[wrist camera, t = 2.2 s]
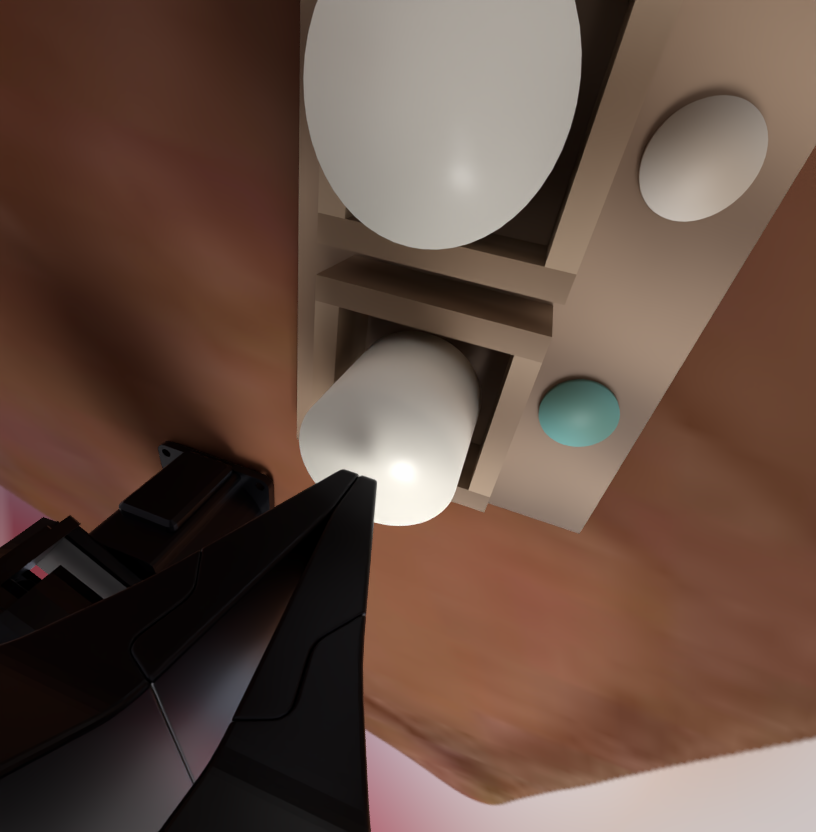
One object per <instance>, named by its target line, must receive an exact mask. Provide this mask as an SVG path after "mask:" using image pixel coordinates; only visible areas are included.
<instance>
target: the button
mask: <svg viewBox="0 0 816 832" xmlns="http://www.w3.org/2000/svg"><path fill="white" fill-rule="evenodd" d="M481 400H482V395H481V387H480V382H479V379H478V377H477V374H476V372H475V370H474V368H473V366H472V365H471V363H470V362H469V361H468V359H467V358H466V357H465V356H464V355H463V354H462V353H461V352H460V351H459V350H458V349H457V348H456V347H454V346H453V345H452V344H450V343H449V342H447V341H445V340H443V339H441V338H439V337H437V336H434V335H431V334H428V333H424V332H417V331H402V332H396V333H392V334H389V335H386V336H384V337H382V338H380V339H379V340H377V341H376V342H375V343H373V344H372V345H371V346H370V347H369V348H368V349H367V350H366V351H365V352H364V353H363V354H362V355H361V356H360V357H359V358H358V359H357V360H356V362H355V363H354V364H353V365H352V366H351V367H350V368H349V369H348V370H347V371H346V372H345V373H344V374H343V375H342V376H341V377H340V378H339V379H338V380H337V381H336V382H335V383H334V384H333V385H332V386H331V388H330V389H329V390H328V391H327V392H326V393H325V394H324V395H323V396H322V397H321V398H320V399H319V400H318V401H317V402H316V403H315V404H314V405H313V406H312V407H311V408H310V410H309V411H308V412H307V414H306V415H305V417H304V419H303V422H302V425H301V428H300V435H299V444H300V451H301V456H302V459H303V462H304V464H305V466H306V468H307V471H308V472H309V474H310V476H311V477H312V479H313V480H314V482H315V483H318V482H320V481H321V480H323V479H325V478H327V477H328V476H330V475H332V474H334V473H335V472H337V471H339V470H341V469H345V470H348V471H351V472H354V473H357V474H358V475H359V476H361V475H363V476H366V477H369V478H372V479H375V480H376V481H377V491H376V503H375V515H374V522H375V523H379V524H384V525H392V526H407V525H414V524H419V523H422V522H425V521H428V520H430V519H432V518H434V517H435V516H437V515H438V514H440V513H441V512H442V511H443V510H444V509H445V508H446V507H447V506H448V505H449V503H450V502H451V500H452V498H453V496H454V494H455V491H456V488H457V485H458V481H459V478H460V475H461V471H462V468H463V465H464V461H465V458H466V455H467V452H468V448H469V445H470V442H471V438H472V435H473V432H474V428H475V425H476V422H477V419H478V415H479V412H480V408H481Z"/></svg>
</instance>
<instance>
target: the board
mask: <svg viewBox="0 0 816 832" xmlns="http://www.w3.org/2000/svg"><path fill="white" fill-rule="evenodd" d="M317 1H318V0H300V111H299V238H298V366H297V439H298V440H299V435H300V428H301V425H302V422H303V419H304V417H305V415H306V414H307V412H308V411H309V410H310V408H311V407H312V406H313V405H314V404H315V403H316V402H317V401H318V400H319V399H320V398H321V397H322V396H323V395H324V394H325V393H326V392H327V391H328V390H329V389H330V388H331V386H332V385H333V384H334V383H335V382H336V381H337V380H338V379H339V378H340V377H341V376H342V375H343V374H344V373H345V372H346V371H347V370H348V369H349V368H350V367H351V366H352V365H353V364H354V363H355V362H356V360H357V359H358V358H359V357H360V356H361V355H362V354H363V353H364V352H365V351H366V350H367V349H368V348H369V347H370V346H371V345H372V344H373V343H375V342H376V341H377V340H379V339H380V338H382V337H384V336H386V335H389V334H392V333H396V332H402V331H417V332H424V333H428V334H431V335H434V336H437V337H439V338H441V339H443V340H445V341H447V342H449V343H450V344H452V345H453V346H454V347H456V348H457V349H458V350H459V351H460V352H461V353H462V354H463V355H464V356H465V357H466V358H467V359H468V361H469V362H470V363H471V365H472V366H473V368H474V370H475V372H476V374H477V377H478V379H479V382H480V387H481V395H482V400H481V408H480V412H479V415H478V419H477V422H476V425H475V428H474V432H473V435H472V438H471V442H470V445H469V448H468V452H467V455H466V458H465V461H464V465H463V468H462V471H461V475H460V478H459V481H458V485H457V488H456V491H455V494H454V496H453V498H452V500H451V501H452V502H455V503H458V504H461V505H464V506H467V507H470V508H473V509H476V510H479V511H482V512H484V511H485V509H486V506H487V504H488V503H489V504H492V505H495V506H498V507H501V508H504V509H507V510H510V511H513V512H516V513H519V514H522V515H525V516H528V517H531V518H534V519H537V520H540V521H543V522H546V523H549V524H552V525H555V526H558V527H561V528H564V529H567V530H570V531H573V532H576V533H580V532H581V530H582V529H583V527H584V525H585V524H586V522H587V520H588V519H589V517H590V515H591V514H592V512H593V510H594V509H595V507H596V506H597V504H598V502H599V501H600V499H601V497H602V496H603V494H604V492H605V491H606V489H607V487H608V486H609V484H610V482H611V481H612V479H613V478H614V476H615V474H616V473H617V471H618V469H619V468H620V466H621V464H622V463H623V461H624V459H625V458H626V456H627V454H628V453H629V451H630V450H631V448H632V446H633V445H634V443H635V441H636V440H637V438H638V436H639V435H640V433H641V431H642V430H643V428H644V427H645V425H646V423H647V422H648V420H649V418H650V417H651V415H652V413H653V412H654V410H655V408H656V407H657V405H658V403H659V402H660V400H661V399H662V397H663V395H664V394H665V392H666V390H667V389H668V387H669V385H670V384H671V382H672V380H673V379H674V377H675V376H676V374H677V372H678V371H679V369H680V367H681V366H682V364H683V362H684V361H685V359H686V357H687V356H688V354H689V352H690V351H691V349H692V348H693V346H694V344H695V343H696V341H697V339H698V338H699V336H700V334H701V333H702V331H703V329H704V328H705V326H706V325H707V323H708V321H709V320H710V318H711V316H712V315H713V313H714V311H715V310H716V308H717V306H718V305H719V303H720V301H721V300H722V298H723V297H724V295H725V293H726V292H727V290H728V288H729V287H730V285H731V283H732V282H733V280H734V278H735V277H736V275H737V273H738V272H739V270H740V269H741V267H742V265H743V264H744V262H745V260H746V259H747V257H748V255H749V254H750V252H751V250H752V249H753V247H754V246H755V244H756V242H757V241H758V239H759V237H760V236H761V234H762V232H763V231H764V229H765V227H766V226H767V224H768V222H769V221H770V219H771V218H772V216H773V214H774V213H775V211H776V209H777V208H778V206H779V204H780V203H781V201H782V199H783V198H784V196H785V195H786V193H787V191H788V190H789V188H790V186H791V185H792V183H793V181H794V180H795V178H796V176H797V175H798V173H799V171H800V170H801V168H802V167H803V165H804V163H805V162H806V160H807V158H808V157H809V155H810V153H811V152H812V150H813V148H814V147H815V145H816V0H575V4H576V9H577V14H578V19H579V25H580V36H581V50H582V56H581V79H580V86H579V93H578V99H577V105H576V109H575V113H574V117H573V120H572V124H571V128H570V131H569V133H568V136H567V139H566V141H565V144H564V147H563V149H562V151H561V153H560V155H559V157H558V159H557V161H556V163H555V165H554V167H553V169H552V171H551V173H550V174H549V176H548V177H547V179H546V180H545V182H544V183H543V185H542V187H541V188H540V189H539V191H538V192H537V193H536V194H535V196H534V197H533V198H532V199H531V200H530V202H529V203H528V204H527V205H526V206H525V207H524V208H523V209H522V210H521V211H520V212H519V213H518V214H517V215H516V216H515V217H514V218H512V219H511V220H510V221H508V222H507V223H506V224H505V225H503V226H502V227H501V228H499V229H498V230H496V231H494V232H492V233H491V234H489V235H487V236H485V237H484V238H481V239H479V240H476V241H474V242H472V243H469V244H466V245H462V246H458V247H454V248H447V249H438V250H436V249H419V248H413V247H408V246H404V245H401V244H398V243H395V242H393V241H391V240H388V239H386V238H384V237H382V236H380V235H379V234H377V233H376V232H374V231H372V230H371V229H369V228H368V227H367V226H365V225H364V224H363V223H362V222H361V221H360V220H358V219H357V218H356V217H355V216H354V215H353V214H352V213H351V212H350V211H349V210H348V208H347V207H346V206H345V205H344V204H343V203H342V201H341V200H340V199H339V197H338V196H337V194H336V193H335V192H334V190H333V188H332V187H331V185H330V183H329V182H328V180H327V178H326V176H325V174H324V172H323V170H322V168H321V165H320V163H319V161H318V159H317V156H316V153H315V150H314V147H313V144H312V141H311V136H310V132H309V128H308V123H307V118H306V110H305V102H304V81H303V76H304V59H305V50H306V44H307V37H308V32H309V28H310V24H311V20H312V16H313V12H314V9H315V6H316V3H317Z"/></svg>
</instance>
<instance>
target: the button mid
mask: <svg viewBox="0 0 816 832" xmlns="http://www.w3.org/2000/svg"><path fill="white" fill-rule="evenodd" d="M581 56H582V50H581V36H580V25H579V19H578V14H577V9H576V4H575V0H318V1H317V3H316V6H315V9H314V12H313V16H312V20H311V24H310V28H309V32H308V37H307V44H306V50H305V59H304V76H303V81H304V102H305V110H306V118H307V123H308V128H309V132H310V136H311V141H312V144H313V147H314V150H315V153H316V156H317V159H318V161H319V163H320V165H321V168H322V170H323V172H324V174H325V176H326V178H327V180H328V182H329V183H330V185H331V187H332V188H333V190H334V192H335V193H336V194H337V196H338V197H339V199H340V200H341V201H342V203H343V204H344V205H345V206H346V207H347V208H348V210H349V211H350V212H351V213H352V214H353V215H354V216H355V217H356V218H357V219H358V220H360V221H361V222H362V223H363V224H364V225H365V226H367V227H368V228H369V229H371V230H372V231H374V232H376V233H377V234H379V235H380V236H382V237H384V238H386V239H388V240H391V241H393V242H395V243H398V244H401V245H404V246H408V247H413V248H419V249H436V250H438V249H447V248H454V247H458V246H462V245H466V244H469V243H472V242H474V241H476V240H479V239H481V238H484V237H485V236H487V235H489V234H491V233H492V232H494V231H496V230H498V229H499V228H501V227H502V226H503V225H505V224H506V223H507V222H508V221H510V220H511V219H512V218H514V217H515V216H516V215H517V214H518V213H519V212H520V211H521V210H522V209H523V208H524V207H525V206H526V205H527V204H528V203H529V202H530V200H531V199H532V198H533V197H534V196H535V194H536V193H537V192H538V191H539V189H540V188H541V187H542V185H543V183H544V182H545V180H546V179H547V177H548V176H549V174H550V173H551V171H552V169H553V167H554V165H555V163H556V161H557V159H558V157H559V155H560V153H561V151H562V149H563V147H564V144H565V141H566V139H567V136H568V133H569V131H570V128H571V124H572V120H573V117H574V113H575V109H576V105H577V99H578V93H579V86H580V79H581Z"/></svg>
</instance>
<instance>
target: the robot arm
mask: <svg viewBox="0 0 816 832" xmlns="http://www.w3.org/2000/svg"><path fill="white" fill-rule="evenodd" d="M158 451H159V455H160V460H161V464H162V468H163V469H162V470H161V471H159V472H158V473H157V474H156V475H154V476H153V477H152V478H151V479H149V480H148V481H147V482H146V483H144V484H143V485H142V486H141V487H139V488H138V489H137V490H136V491H134V492H133V493H132V494H131V495H129V496H128V497H127V498H126V499H124V500H123V501H122V502H121V503H120V504H119V509H118V510H117V511H116V512H115V513H113V514H112V515H111V516H110V517H109V518H107V519H106V520H105V521H104V522H102V523H101V524H100V525H99V526H98V527H96V528H95V529H94V530H93V531H91V532H90V533H89V534H88V533H87V532H86V531H85V530H83V529H82V528H81V527H80V526H79V525H80V523H79V522H78V521H77V520H75V519H74V518H73V517H72V516H71V515H70V516H68V517H67V518H65V519H64V520H63V521H61V522H60V523H59V522H58V521H57V522H56V521H53V520H50V519H47V518H44V517H43V518H41V519H40V520H39V521H37V522H36V523H34V524H33V525H32V526H30V527H29V528H27V529H26V530H25V531H23V532H22V533H20V534H19V535H18V536H16V537H15V538H14V539H12V540H10V541H9V542H8V543H6V544H5V545H3V546H2V547H0V832H371V828H370V816H369V801H368V782H367V760H366V740H365V719H364V696H363V655H364V635H365V624H366V609H367V598H368V586H369V574H370V562H371V550H372V539H373V527H374V515H375V503H376V491H377V481H376V480H375V479H372V478H369V477H366V476H363V475H361V476H359V475H358V474H357V473H354V472H351V471H348V470H345V469H341V470H339V471H337V472H335V473H334V474H332V475H330V476H328V477H327V478H325V479H323V480H321V481H320V482H318V483H316V484H314V485H313V486H311V487H309V488H307V489H305V490H304V491H302V492H300V493H298V494H297V495H295V496H293V497H291V498H290V499H288V500H286V501H284V502H283V503H281V504H279V505H277V506H276V507H274V490H273V482H272V480H271V479H270V478H269V477H268V476H266V475H264V474H262V473H259V472H256V471H253V470H250V469H247V468H245V467H242V466H239V465H236V464H233V463H231V462H228V461H225V460H222V459H219V458H216V457H214V456H211V455H208V454H205V453H202V452H199V451H197V450H194V449H191V448H188V447H185V446H183V445H180V444H177V443H174V442H171V441H165V442H164V443H162V444H161V445H160V446H159V447H158ZM35 565H37V566H39V567H40V568H41V569H42V570H44V571H45V572H46V573H48V574H49V575H47V576H46V577H45V578H44V579H42V580H41V579H40V578H39V577H38V576H36V575H35V574H34V573H32V572H31V571H30V569H31V568H33V567H34V566H35Z"/></svg>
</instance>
